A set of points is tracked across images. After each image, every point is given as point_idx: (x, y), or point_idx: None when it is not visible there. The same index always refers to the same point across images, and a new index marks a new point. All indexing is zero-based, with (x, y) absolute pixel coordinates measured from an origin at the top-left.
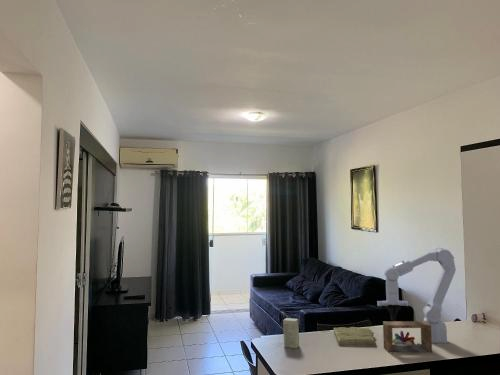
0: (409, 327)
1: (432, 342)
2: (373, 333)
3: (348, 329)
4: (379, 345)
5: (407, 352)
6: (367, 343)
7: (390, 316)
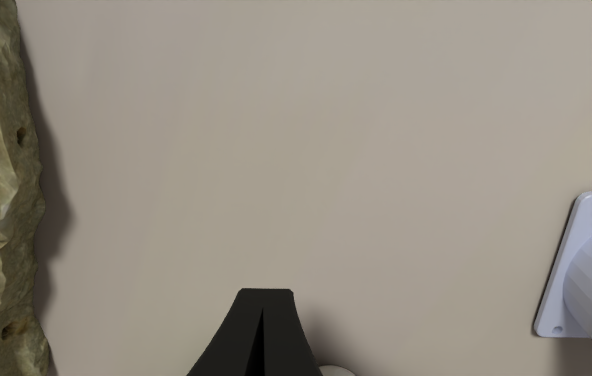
0: None
1: (574, 335)
2: (19, 200)
3: None
4: (79, 355)
5: None
6: None
7: (219, 335)
